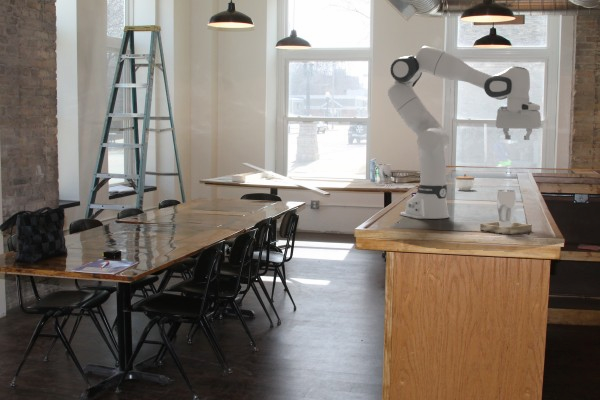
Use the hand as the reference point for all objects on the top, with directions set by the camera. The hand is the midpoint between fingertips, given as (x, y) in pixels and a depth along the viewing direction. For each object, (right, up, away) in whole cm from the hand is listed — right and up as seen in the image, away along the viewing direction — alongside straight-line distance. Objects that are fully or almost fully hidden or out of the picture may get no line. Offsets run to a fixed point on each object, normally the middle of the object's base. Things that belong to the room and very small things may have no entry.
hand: (517, 139), depth 310 cm
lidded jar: (+8, -19, +133) cm, 134 cm away
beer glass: (-11, -37, -23) cm, 44 cm away
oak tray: (-11, -37, -23) cm, 45 cm away
